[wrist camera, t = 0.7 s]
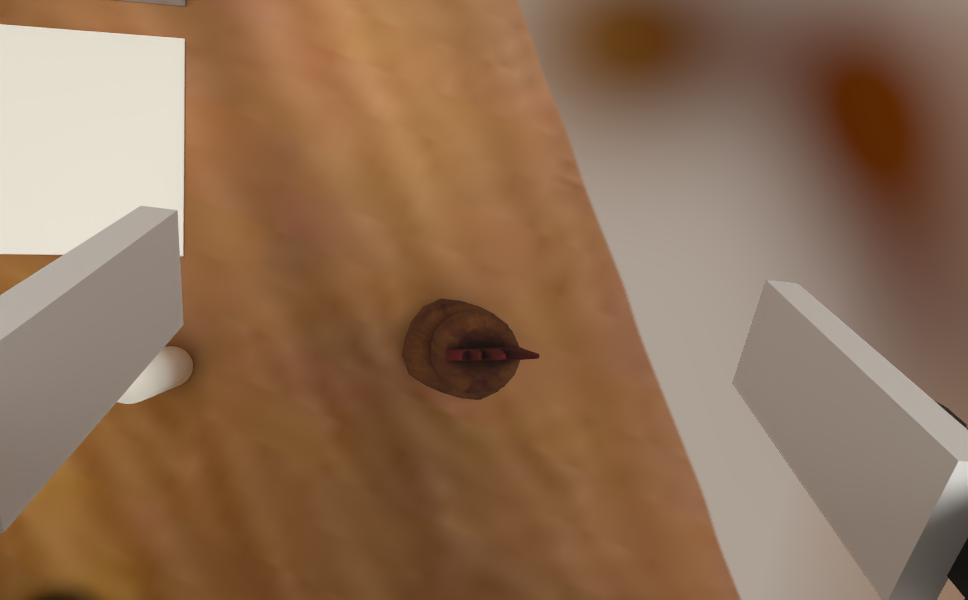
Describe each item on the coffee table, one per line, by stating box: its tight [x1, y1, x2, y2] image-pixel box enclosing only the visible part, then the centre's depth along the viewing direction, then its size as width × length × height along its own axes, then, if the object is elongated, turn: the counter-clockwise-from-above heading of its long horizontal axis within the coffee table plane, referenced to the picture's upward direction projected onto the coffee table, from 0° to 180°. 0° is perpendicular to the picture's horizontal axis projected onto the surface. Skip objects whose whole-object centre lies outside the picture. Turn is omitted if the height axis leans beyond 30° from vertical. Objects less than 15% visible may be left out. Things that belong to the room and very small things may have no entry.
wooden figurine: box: [403, 299, 539, 400], centre depth 39 cm, size 7×6×15 cm
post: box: [117, 346, 193, 404], centre depth 38 cm, size 3×3×9 cm
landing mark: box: [0, 24, 185, 256], centre depth 42 cm, size 14×14×1 cm
